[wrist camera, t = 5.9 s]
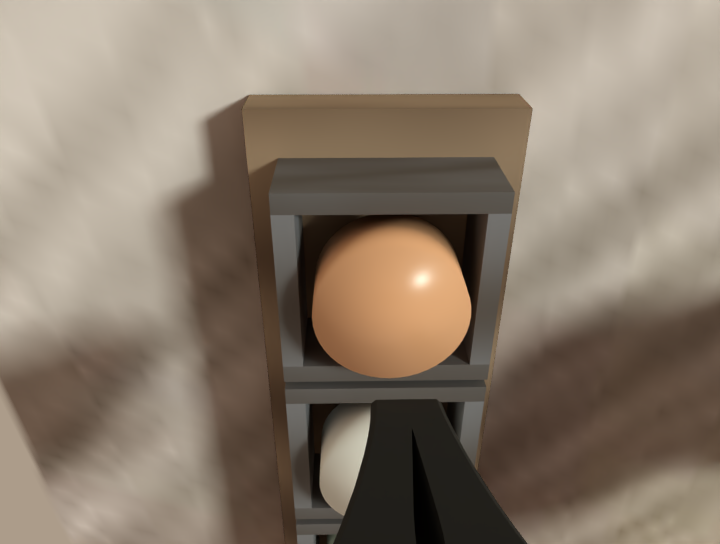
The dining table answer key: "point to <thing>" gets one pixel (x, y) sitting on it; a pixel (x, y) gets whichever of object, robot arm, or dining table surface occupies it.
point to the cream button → (343, 452)
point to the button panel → (358, 199)
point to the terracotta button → (389, 296)
